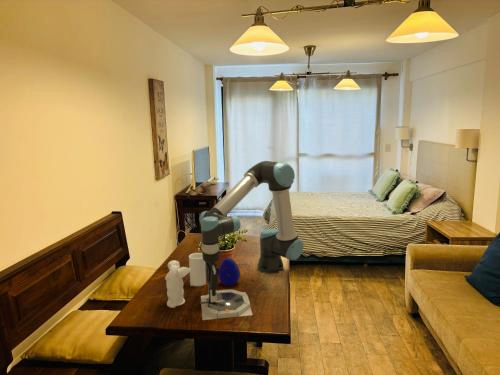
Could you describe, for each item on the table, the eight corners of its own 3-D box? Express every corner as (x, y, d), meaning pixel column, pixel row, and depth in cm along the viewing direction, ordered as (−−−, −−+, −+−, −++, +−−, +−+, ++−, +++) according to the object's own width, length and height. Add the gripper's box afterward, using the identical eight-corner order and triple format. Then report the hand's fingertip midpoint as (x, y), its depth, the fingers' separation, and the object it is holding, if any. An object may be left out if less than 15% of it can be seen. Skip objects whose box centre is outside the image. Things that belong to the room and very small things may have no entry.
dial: (239, 295, 178) (239, 272, 176) (245, 311, 163) (244, 287, 161) (206, 298, 176) (206, 275, 173) (209, 315, 160) (208, 290, 158)
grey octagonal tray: (245, 293, 182) (245, 287, 181) (252, 318, 160) (252, 311, 159) (199, 297, 178) (199, 291, 178) (200, 323, 156) (200, 316, 156)
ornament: (242, 283, 193) (241, 256, 190) (234, 290, 185) (233, 263, 182) (224, 279, 198) (223, 253, 195) (215, 286, 190) (214, 259, 187)
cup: (203, 288, 188) (201, 259, 185) (188, 287, 190) (186, 258, 187) (208, 281, 196) (206, 253, 193) (193, 280, 198) (192, 252, 195)
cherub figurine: (170, 298, 179) (167, 255, 175) (195, 298, 178) (193, 255, 175) (163, 310, 167) (160, 265, 163) (190, 310, 166) (188, 265, 163)
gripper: (199, 246, 169) (201, 292, 174) (206, 259, 154) (208, 309, 159) (214, 244, 171) (216, 289, 176) (223, 256, 156) (225, 306, 161)
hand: (212, 299), depth 167 cm, fingers open, 3 cm apart
